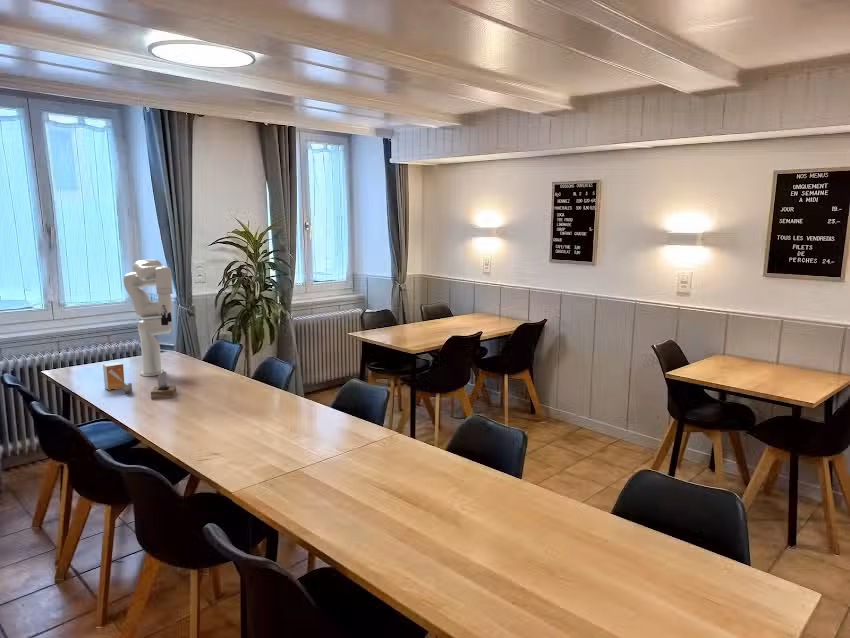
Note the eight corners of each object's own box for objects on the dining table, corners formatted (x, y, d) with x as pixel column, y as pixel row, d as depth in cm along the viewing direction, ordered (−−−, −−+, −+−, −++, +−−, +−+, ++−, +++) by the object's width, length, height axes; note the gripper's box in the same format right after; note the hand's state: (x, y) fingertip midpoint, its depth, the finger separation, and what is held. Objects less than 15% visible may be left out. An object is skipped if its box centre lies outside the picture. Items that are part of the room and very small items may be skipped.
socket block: (155, 392, 295) (154, 386, 294) (176, 391, 297) (175, 385, 297) (151, 399, 285) (150, 392, 285) (172, 397, 288) (172, 390, 287)
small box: (108, 391, 297) (106, 366, 295) (104, 388, 302) (102, 364, 299) (125, 388, 303) (123, 363, 300) (121, 385, 307) (119, 361, 305)
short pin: (125, 392, 295) (124, 383, 294) (133, 392, 296) (132, 382, 295) (123, 394, 292) (122, 385, 291) (131, 394, 292) (130, 384, 292)
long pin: (160, 394, 293) (159, 371, 291) (168, 394, 293) (166, 371, 291) (159, 396, 289) (157, 373, 287) (167, 396, 290) (165, 373, 288)
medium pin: (159, 390, 299) (158, 375, 297) (166, 390, 300) (166, 375, 298) (158, 392, 295) (157, 377, 294) (165, 392, 296) (164, 377, 295)
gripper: (160, 289, 308) (162, 320, 311) (153, 293, 291) (155, 326, 294) (175, 288, 310) (177, 320, 313) (169, 293, 293) (171, 326, 296)
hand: (166, 323), depth 304 cm, fingers open, 9 cm apart
